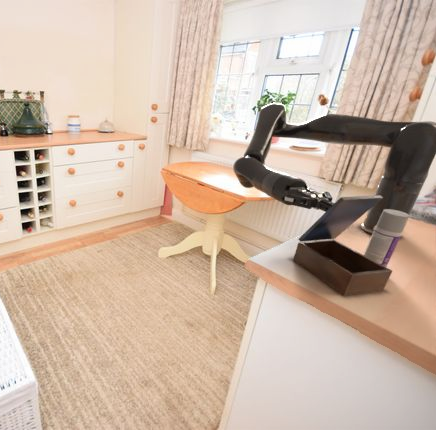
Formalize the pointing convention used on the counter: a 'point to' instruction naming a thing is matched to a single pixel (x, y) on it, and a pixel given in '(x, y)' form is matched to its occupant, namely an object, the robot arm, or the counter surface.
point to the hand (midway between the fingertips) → (337, 210)
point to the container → (386, 236)
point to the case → (342, 267)
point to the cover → (339, 217)
